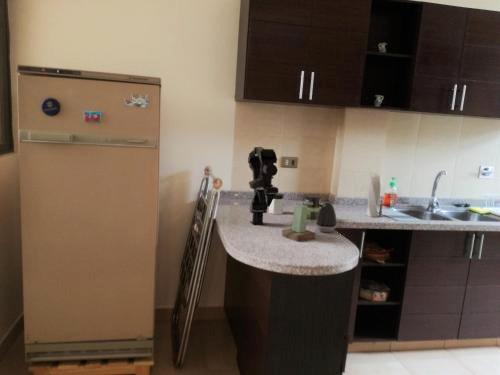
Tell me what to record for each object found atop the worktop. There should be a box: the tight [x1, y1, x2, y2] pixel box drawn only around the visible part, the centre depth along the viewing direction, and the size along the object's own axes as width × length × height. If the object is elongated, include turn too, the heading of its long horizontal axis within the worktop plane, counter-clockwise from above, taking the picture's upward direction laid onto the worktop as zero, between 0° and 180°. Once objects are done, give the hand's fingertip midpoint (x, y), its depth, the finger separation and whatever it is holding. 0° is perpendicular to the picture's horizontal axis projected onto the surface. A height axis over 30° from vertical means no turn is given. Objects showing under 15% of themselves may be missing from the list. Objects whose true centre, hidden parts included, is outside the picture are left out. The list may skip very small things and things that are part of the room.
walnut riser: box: [281, 228, 316, 242], centre depth 185 cm, size 11×11×4 cm
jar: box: [268, 192, 285, 215], centre depth 241 cm, size 9×8×12 cm
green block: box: [291, 203, 308, 233], centre depth 184 cm, size 4×4×12 cm
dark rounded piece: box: [315, 201, 337, 233], centre depth 198 cm, size 10×10×15 cm
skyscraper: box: [365, 172, 383, 219], centre depth 242 cm, size 8×8×28 cm
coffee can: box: [302, 194, 322, 222], centre depth 226 cm, size 10×10×14 cm
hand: (264, 204), depth 195 cm, fingers open, 9 cm apart
